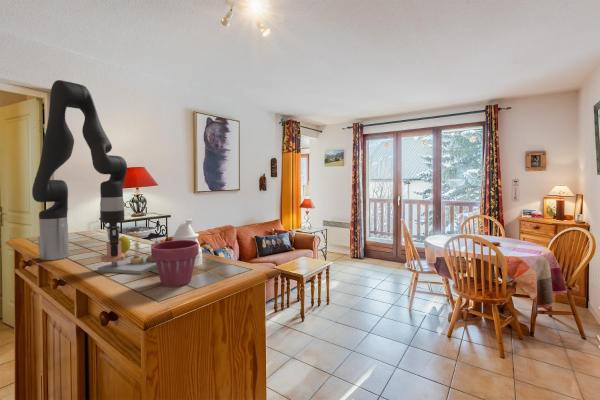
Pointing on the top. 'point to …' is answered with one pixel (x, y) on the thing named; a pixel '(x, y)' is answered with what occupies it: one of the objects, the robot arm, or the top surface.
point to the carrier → (131, 264)
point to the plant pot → (175, 261)
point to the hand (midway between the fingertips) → (114, 254)
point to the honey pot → (188, 238)
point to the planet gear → (114, 258)
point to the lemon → (124, 243)
